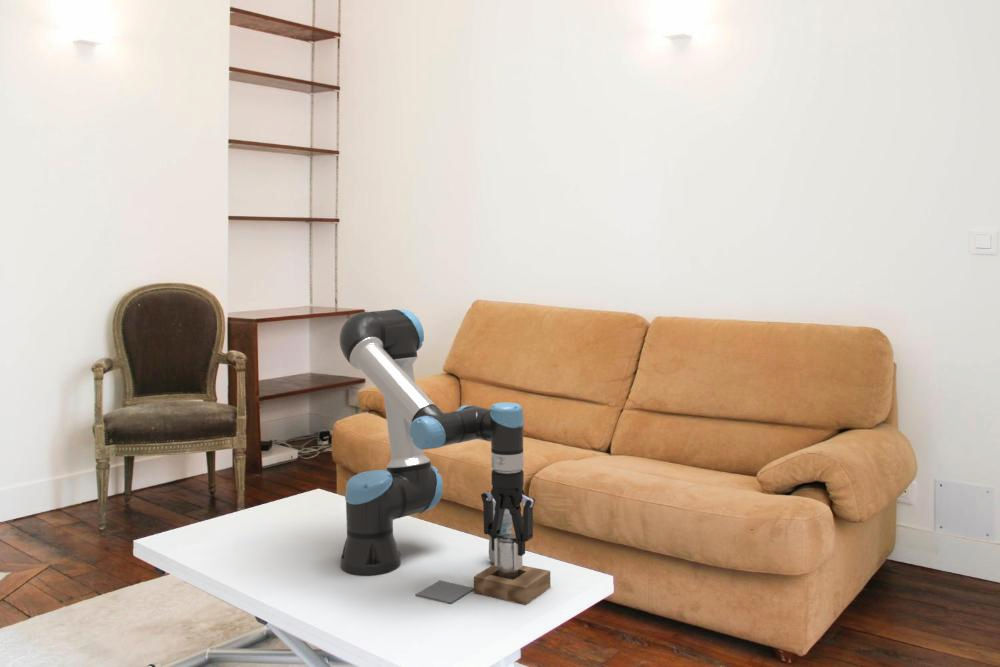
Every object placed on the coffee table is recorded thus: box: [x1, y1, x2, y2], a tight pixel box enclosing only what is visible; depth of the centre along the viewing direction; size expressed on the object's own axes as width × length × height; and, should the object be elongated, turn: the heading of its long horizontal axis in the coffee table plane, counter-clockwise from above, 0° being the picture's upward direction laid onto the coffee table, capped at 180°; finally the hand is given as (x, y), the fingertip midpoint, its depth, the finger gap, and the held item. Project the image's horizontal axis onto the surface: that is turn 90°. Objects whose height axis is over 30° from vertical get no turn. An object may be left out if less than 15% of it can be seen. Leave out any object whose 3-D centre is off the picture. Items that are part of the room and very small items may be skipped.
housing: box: [473, 564, 551, 606], centre depth 216 cm, size 14×12×4 cm
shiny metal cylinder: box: [498, 533, 518, 580], centre depth 216 cm, size 5×5×13 cm
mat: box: [415, 580, 474, 605], centre depth 215 cm, size 10×10×1 cm
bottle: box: [488, 498, 513, 565], centre depth 234 cm, size 7×7×20 cm
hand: (508, 566), depth 216 cm, fingers closed on shiny metal cylinder, 5 cm apart
